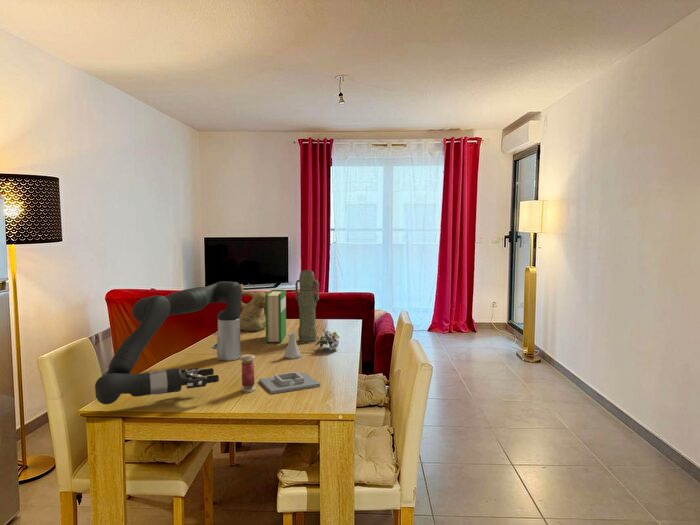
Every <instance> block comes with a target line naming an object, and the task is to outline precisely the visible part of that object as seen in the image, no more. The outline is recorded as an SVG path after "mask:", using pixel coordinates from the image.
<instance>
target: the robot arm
mask: <svg viewBox="0 0 700 525" xmlns="http://www.w3.org/2000/svg"><path fill="white" fill-rule="evenodd" d="M242 298H243V296H242V290H241V286H240V283H239V282H237V281H228V280H227V281H226V280H225V281H224V280H221V281H218V282H214V283H212V284H210V285H207V286H198V287H191V288H186V289H183V290H179V291H176V292H173V293H170V294H167V295H165V296H163V295H157V294H156V295H152V296H148V297H142V298H140V299H139V300H137V301H136V302H135V303H134V305H133V307H132V316H133V317H134V319H135V320H136V321H137V322H139V323H140V324H139V325H138V326H137V328H136V329H135V330H133V332H132V333H131V334H130V335H129V336H128V337H127V338H126V339H125V340H123V342H122V343H121V344H120V345H119V347H118V348H117V350H116V351H115V353H114V355H113V357H112V358H111V360H110V362H109V364H108V369H107V373H106V374H103V375H102V376H100V377H98V379H97V380H96V381H95V384H94V391H95V392H94V393H95V398H96V400H97V401H98V402H99V403H100V404H102V405H111V404H113V403H115V402H116V401H117V400H118V399H119V397H120V396H121V395H123V394H124V395H125V394H126V395H128V394H129V395H130V396H132V397H144V396H146V397H147V396H153V395H154V396H155V395H162V394H163V395H164V394H171V393H172V394H173V393H177V392H181V391H182V386H186V389H189V390H190V389H196V388H204V387H206V386H207V385H208V384H212V383H213V384H214V383H219V379H220V377H219V375H218V374H214V373H215V372H214V371H215V370H214V368H213V367H211V368H203V369H202V368H200V367H194V368H192V367H191V368H185V369H180V368H179V367H176V368H167V369H159V370H154V371H149V372H141V373H135V374H134V373H131V372H132V370H133V369H134V368H135V366H136V363H137V362H138V360H139V358H140V356H141V354H142V352H143V351H144V349H145V348H146V346H147V345H148V343H149V342H150V341H151V339H153V336H154V335H155V334H156V332H157V331H158V330H159V329H160V327H161V326H162V325H164V324H163V323H164V322H165V321H166V320H167V318H168V317H170V316H177V315H185V314H190V313H195V312H198V311H202V310H204V308H206V307H207V305H208V304H212V303H222V304H226V308H225V309H224V310H221V311H219V312H217V338H216V343H217V348H216V353H217V354H216V355H217V356H216V357H217V358H216V359H217V360H220V361H235V360H236V361H237V360H239V359H240V356H242V355H241V328H240V315H241V312H242V308H241V301H242Z"/></svg>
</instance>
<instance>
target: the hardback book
mask: <svg viewBox="0 0 700 525" xmlns="http://www.w3.org/2000/svg"><path fill="white" fill-rule="evenodd" d="M286 290H287V289H271V290H269V291H267V292H266V294H265V308H264V313H265V317H266V327H265V344H269V343H278V344H282V343H283V342H284V340H285V338H286V337H285V336H287V298H286V297H287V296H286V295H287V291H286ZM283 339H284V340H283ZM268 342H269V343H268ZM281 342H282V343H281Z"/></svg>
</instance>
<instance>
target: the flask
mask: <svg viewBox="0 0 700 525" xmlns="http://www.w3.org/2000/svg"><path fill="white" fill-rule="evenodd" d="M296 336H297V334H296V333H289V334H288V344H287V346H286V349H285V352H284V354H283V357H284V358H285V359H299V358H301V357H302V354H301V351H300V349H299V347H298V344H297V340H296Z"/></svg>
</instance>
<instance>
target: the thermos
mask: <svg viewBox="0 0 700 525" xmlns="http://www.w3.org/2000/svg"><path fill="white" fill-rule="evenodd" d="M315 276H316V275H315V273H314V271H313V270H311V269H308V270H307V269H305V270H302V271H300V273H299V279H297V280H296V281H295V283H294V285H295V301H297V303H298V305H297V306H298V307H299V311H298V312H299V315H298V317H299V327H298V331H297V332H298V333H297V334H298V341H300V342H299V343H302V342H304V344H310V343H309V342H312V343H316V342H317V336H318V335H317V326H316V307H317V302H318V301H319V300H320V282H319V280H317V279H316V277H315ZM315 288H316V289H315ZM315 341H316V342H315Z"/></svg>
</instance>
